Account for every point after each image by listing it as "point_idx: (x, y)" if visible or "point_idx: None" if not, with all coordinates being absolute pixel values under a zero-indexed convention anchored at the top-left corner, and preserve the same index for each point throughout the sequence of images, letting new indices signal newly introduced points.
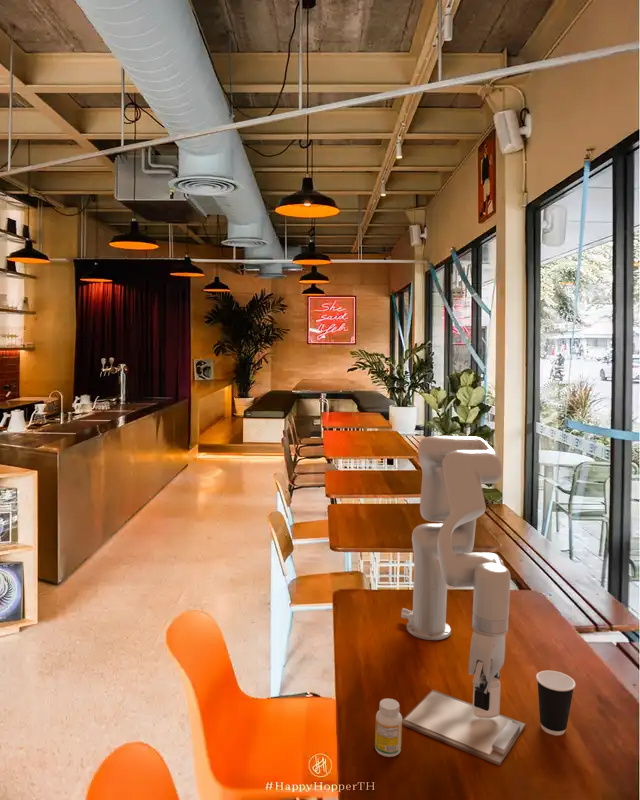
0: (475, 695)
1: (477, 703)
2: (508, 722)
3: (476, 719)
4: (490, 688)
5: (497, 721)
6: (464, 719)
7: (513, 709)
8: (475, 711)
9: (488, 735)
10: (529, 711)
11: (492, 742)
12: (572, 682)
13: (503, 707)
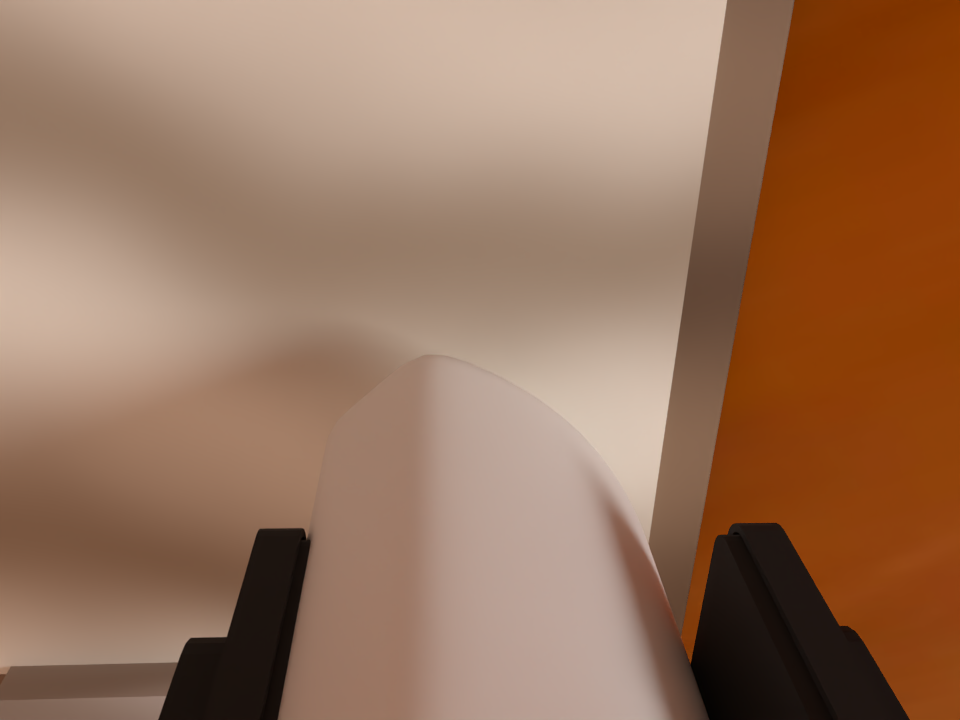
0: (219, 696)
1: (189, 659)
2: None
3: None
4: None
5: None
6: (295, 248)
7: (915, 558)
8: (324, 460)
9: (194, 576)
10: (942, 668)
11: (109, 639)
12: None
13: (911, 474)
